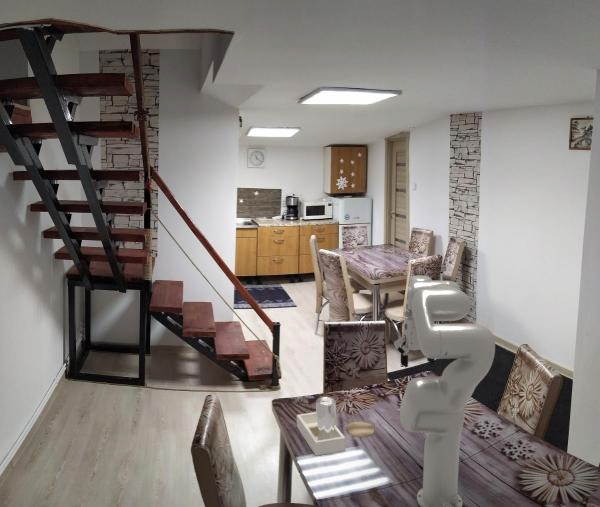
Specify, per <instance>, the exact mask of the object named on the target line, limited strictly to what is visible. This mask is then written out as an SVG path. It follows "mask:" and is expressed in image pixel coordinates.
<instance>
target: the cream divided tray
mask: <svg viewBox="0 0 600 507" xmlns="http://www.w3.org/2000/svg"><path fill="white" fill-rule="evenodd" d="M296 428H297V429H298V431H299V432H300V434H301V435H302V437H303V439H304V440H305V441H306V443H307V444H308V447H309V448H310V449H311V451H312V453H313V454H314V455H315V456H323V455H328V454H334V453H339V452H346V436H345V435H344V434H343V433H342V432H341V431H340V429H339V428H338V427H337V425H335V426H334V438H331V439H325V440H319V441H318V440H317V438H318V426H317V420H316V411H314V412H308V413H301V414H296Z"/></svg>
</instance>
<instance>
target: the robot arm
mask: <svg viewBox="0 0 600 507" xmlns="http://www.w3.org/2000/svg"><path fill="white" fill-rule="evenodd" d="M471 308H472V306H471V300H470V297H469V296H468V295H467V294H466V292H464V291H462V290H461V287H460V285H459V283H458V282H456V281H455V282H454V281H451V280H433V279H432V278H431V277H430V276H428V275H421V274H420V275H419V274H418V275H412V276H410V277H409V279H408V288H407V310H406V311H404V314H403V315H404V316H406V317H405V320H404V324H403V329H402V336H401V337H399V338H398V339H396V340H395V341H393V345H394V346H395V348H396V350H397V351H398V352H399V353H400V364H401V365H402V366H403V367H405V368H408V367H409V355H408V354H409V352H410V351H419V350H420V351H421V353H422V355H423V356H424V357H425V358H427V359H426V361H427V362H429V363H430V364H432V365H433V364H435V360H439V359H440V360H441V359H442V360H443V359H446V360H447V359H448V360H449V359H455V360H453V361H452V362H450V363H449V364H448V365H447V366H446V367H445V368H444V369H443V370H442V373H441V375H440V376H420V377H419V376H417V377H414V378H412V379H411V380H409V382H408V383H407V386H406V388H405V391H404V394H403V397H402V401H401V403H400V407H399V420H400V421H399V422H400V425H401V426H402V428H403V429H404V430H405V431H407V432H409V433H428V434H427V436H426V439H425V440H424V445H423V446H424V448H423V471H422V472H423V474H422V477H423V478H422V488H420V489H419V491H418V492H417V493H416V502H417V503H418V505H419V506H420V507H463V503H464V502H463V499H462V497H461V496H460V495H459V494H458V485H459V484H458V483H459V469H460V468H459V464H460V448H461V446H460V444H461V436H462V431H463V427H464V422H465V419H466V418H465V417H466V416H465V415H466V413H465V412H466V410H465V408H466V406H467V405H468V404H469V403H468V402H469V401H470V399H471V397H472V395H473V394H474V391H475V390H476V388H477V386H478V385H479V384H480V382H481V381H482V380H483V379H484V378H485V377H486V376H487V375H488V373H489V371H490V369H491V367H492V365H493V363H494V358H495V353H496V341H495V336H494V334H493V332H492V331H491V330H490V329H489V328H487V327H485V326H484V325H481V324H476V323H462V322H461V323H435V322H445V321H446V322H453V321H459V320H461V319H463V318H465V317H467V316H468V314H469V313H470V310H471ZM401 344H402V346H401Z"/></svg>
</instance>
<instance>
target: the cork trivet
mask: <svg viewBox="0 0 600 507" xmlns="http://www.w3.org/2000/svg"><path fill="white" fill-rule="evenodd" d="M346 432H347V433H348V434H349V435H350V436H353V437H358V438H365V437H366V438H367V437H370V436H372V435H373V434H374V433H375V427H374V425H373V424H371V423H370V422H365V421H353V422H350V423H348V424H347V425H346Z"/></svg>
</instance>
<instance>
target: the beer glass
mask: <svg viewBox="0 0 600 507" xmlns="http://www.w3.org/2000/svg"><path fill="white" fill-rule="evenodd" d="M315 412H316V420H317V426H318V438H317V440H318V441H319V440H325V439H331V438H334V426H336V419H337V402H336V399H335V398H333V397H329V396H323V397H322V396H321V397H319V398H317V399H316V402H315Z"/></svg>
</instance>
